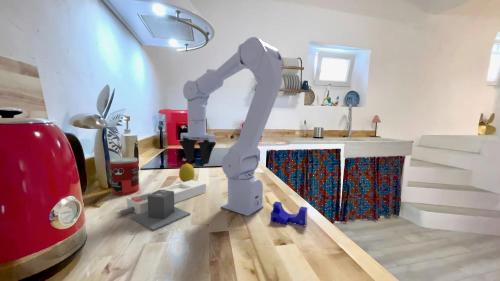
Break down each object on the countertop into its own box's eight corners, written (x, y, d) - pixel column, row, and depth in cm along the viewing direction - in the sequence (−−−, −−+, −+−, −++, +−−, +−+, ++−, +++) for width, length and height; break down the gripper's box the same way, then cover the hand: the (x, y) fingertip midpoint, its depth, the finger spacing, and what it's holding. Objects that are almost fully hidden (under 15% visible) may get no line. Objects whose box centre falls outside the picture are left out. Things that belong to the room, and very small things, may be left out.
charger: (174, 211, 56) (173, 190, 55) (164, 219, 52) (163, 196, 51) (159, 210, 57) (158, 189, 56) (148, 217, 52) (147, 195, 52)
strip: (192, 188, 76) (192, 178, 76) (205, 192, 72) (205, 182, 71) (115, 212, 56) (114, 199, 55) (128, 220, 52) (127, 206, 51)
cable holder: (270, 222, 52) (270, 206, 52) (275, 216, 55) (275, 201, 55) (303, 230, 49) (304, 213, 48) (306, 223, 52) (307, 207, 51)
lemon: (192, 186, 78) (191, 164, 77) (177, 186, 78) (176, 164, 77) (196, 181, 83) (196, 161, 83) (182, 181, 84) (181, 161, 83)
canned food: (109, 191, 71) (107, 159, 70) (135, 186, 77) (133, 156, 76) (114, 197, 66) (112, 162, 65) (142, 191, 72) (141, 159, 70)
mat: (190, 214, 55) (190, 213, 55) (153, 231, 47) (153, 229, 47) (167, 205, 61) (167, 203, 61) (131, 218, 53) (131, 216, 53)
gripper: (222, 120, 68) (222, 163, 69) (192, 120, 76) (192, 157, 77) (205, 121, 62) (205, 167, 63) (175, 120, 70) (175, 160, 72)
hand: (197, 162), depth 70 cm, fingers open, 7 cm apart
